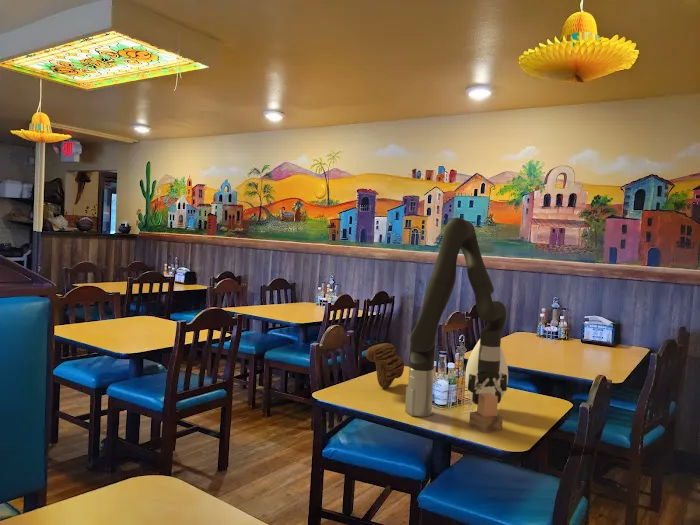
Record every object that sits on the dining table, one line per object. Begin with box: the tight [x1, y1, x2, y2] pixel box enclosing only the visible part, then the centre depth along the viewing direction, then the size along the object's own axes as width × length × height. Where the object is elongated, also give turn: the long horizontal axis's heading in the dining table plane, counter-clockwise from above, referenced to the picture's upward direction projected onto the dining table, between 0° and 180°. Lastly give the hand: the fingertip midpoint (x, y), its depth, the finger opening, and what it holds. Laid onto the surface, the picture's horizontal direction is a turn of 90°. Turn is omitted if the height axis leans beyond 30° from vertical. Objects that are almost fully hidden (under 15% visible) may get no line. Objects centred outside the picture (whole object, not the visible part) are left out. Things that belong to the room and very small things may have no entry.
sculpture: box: [364, 342, 405, 389], centre depth 238 cm, size 26×8×20 cm, turn 145°
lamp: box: [464, 339, 509, 411], centre depth 213 cm, size 16×16×35 cm
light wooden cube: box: [476, 392, 499, 417], centre depth 194 cm, size 5×5×7 cm
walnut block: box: [468, 410, 504, 434], centre depth 195 cm, size 8×8×5 cm
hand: (486, 403), depth 194 cm, fingers open, 8 cm apart
